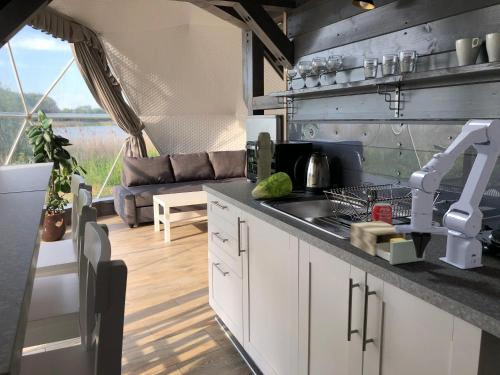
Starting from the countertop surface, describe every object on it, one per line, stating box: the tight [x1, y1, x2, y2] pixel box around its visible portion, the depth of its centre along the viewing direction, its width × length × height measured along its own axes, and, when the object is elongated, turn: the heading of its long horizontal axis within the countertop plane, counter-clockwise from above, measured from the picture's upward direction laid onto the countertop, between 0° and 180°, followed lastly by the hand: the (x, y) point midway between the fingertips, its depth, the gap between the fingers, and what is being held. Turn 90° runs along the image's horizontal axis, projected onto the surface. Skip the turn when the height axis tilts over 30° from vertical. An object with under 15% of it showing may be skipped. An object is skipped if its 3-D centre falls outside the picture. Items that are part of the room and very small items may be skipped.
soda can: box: [371, 202, 393, 225], centre depth 163 cm, size 7×7×12 cm
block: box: [389, 238, 406, 253], centre depth 137 cm, size 4×4×5 cm
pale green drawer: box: [376, 239, 426, 265], centre depth 139 cm, size 14×12×7 cm
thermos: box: [254, 131, 275, 187], centre depth 254 cm, size 9×12×35 cm
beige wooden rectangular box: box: [349, 220, 407, 257], centre depth 147 cm, size 14×12×7 cm
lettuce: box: [251, 171, 293, 199], centre depth 237 cm, size 14×23×13 cm, turn 116°
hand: (419, 257), depth 128 cm, fingers closed
